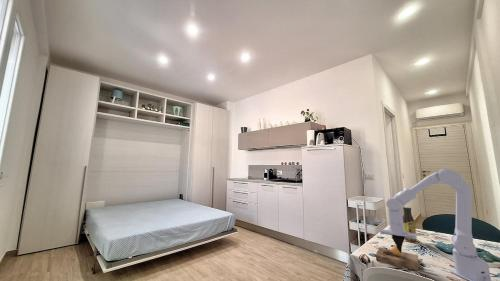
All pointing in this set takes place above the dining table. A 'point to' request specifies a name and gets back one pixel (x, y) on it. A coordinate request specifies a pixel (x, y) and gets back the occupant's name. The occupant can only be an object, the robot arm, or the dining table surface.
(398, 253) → the ball
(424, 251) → the dining table surface
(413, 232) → the sauce bottle
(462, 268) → the robot arm
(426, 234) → the dining table surface
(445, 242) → the dining table surface
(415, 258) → the board
